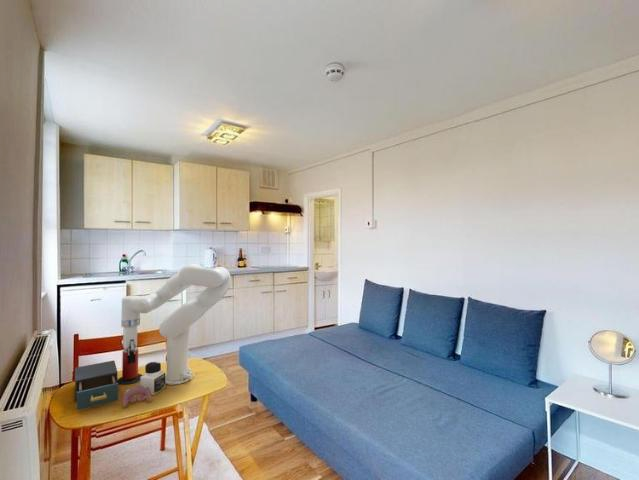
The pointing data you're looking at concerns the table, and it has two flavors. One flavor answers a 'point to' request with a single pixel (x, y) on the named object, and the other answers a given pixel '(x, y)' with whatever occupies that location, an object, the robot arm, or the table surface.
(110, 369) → the cabinet
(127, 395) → the video game controller
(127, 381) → the coaster
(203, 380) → the table surface
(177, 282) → the robot arm
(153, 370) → the medicine bottle
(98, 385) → the drawer
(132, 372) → the can
